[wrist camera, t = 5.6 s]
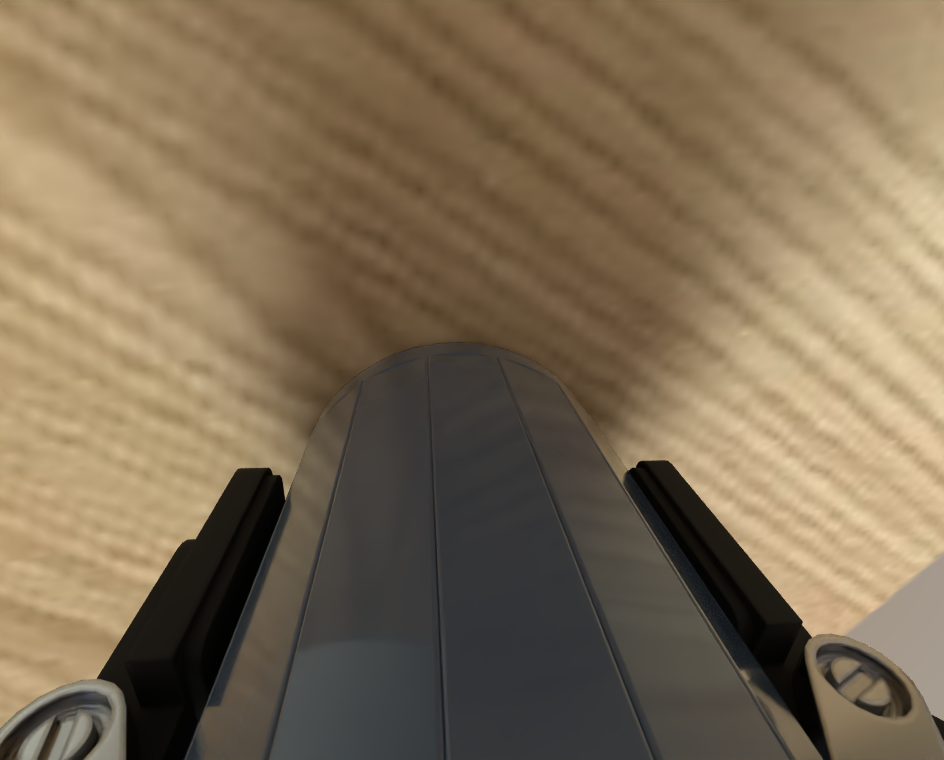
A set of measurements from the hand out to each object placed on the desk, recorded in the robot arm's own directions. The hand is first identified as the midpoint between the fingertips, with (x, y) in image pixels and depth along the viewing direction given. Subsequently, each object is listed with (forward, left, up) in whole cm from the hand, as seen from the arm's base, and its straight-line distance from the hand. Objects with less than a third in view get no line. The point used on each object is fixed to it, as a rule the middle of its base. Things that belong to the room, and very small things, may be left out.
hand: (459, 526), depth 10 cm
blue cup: (0, 0, -2) cm, 2 cm away
